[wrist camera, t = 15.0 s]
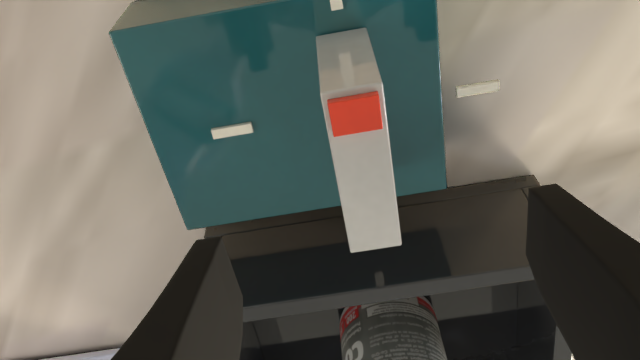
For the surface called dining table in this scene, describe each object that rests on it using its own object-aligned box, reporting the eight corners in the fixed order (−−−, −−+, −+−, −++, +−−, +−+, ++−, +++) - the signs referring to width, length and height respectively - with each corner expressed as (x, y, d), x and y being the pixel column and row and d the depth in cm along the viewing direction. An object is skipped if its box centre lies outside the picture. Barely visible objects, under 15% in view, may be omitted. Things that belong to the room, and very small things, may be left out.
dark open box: (271, 403, 33) (268, 496, 29) (205, 226, 26) (187, 316, 21) (524, 369, 32) (559, 459, 28) (534, 173, 25) (585, 257, 20)
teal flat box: (203, 201, 25) (192, 249, 22) (121, -24, 19) (94, 6, 17) (476, 157, 24) (498, 202, 21) (472, -91, 18) (501, -71, 16)
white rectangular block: (385, 172, 21) (403, 251, 17) (341, 179, 21) (351, 259, 17) (366, 26, 17) (383, 86, 14) (315, 35, 18) (320, 97, 14)
